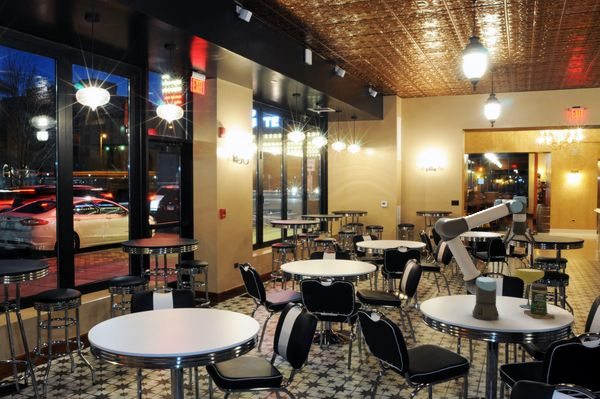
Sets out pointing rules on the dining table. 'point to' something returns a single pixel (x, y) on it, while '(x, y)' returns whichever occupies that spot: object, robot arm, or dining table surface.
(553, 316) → the walnut board
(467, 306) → the dining table surface
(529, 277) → the cocktail glass
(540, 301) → the coffee jar
